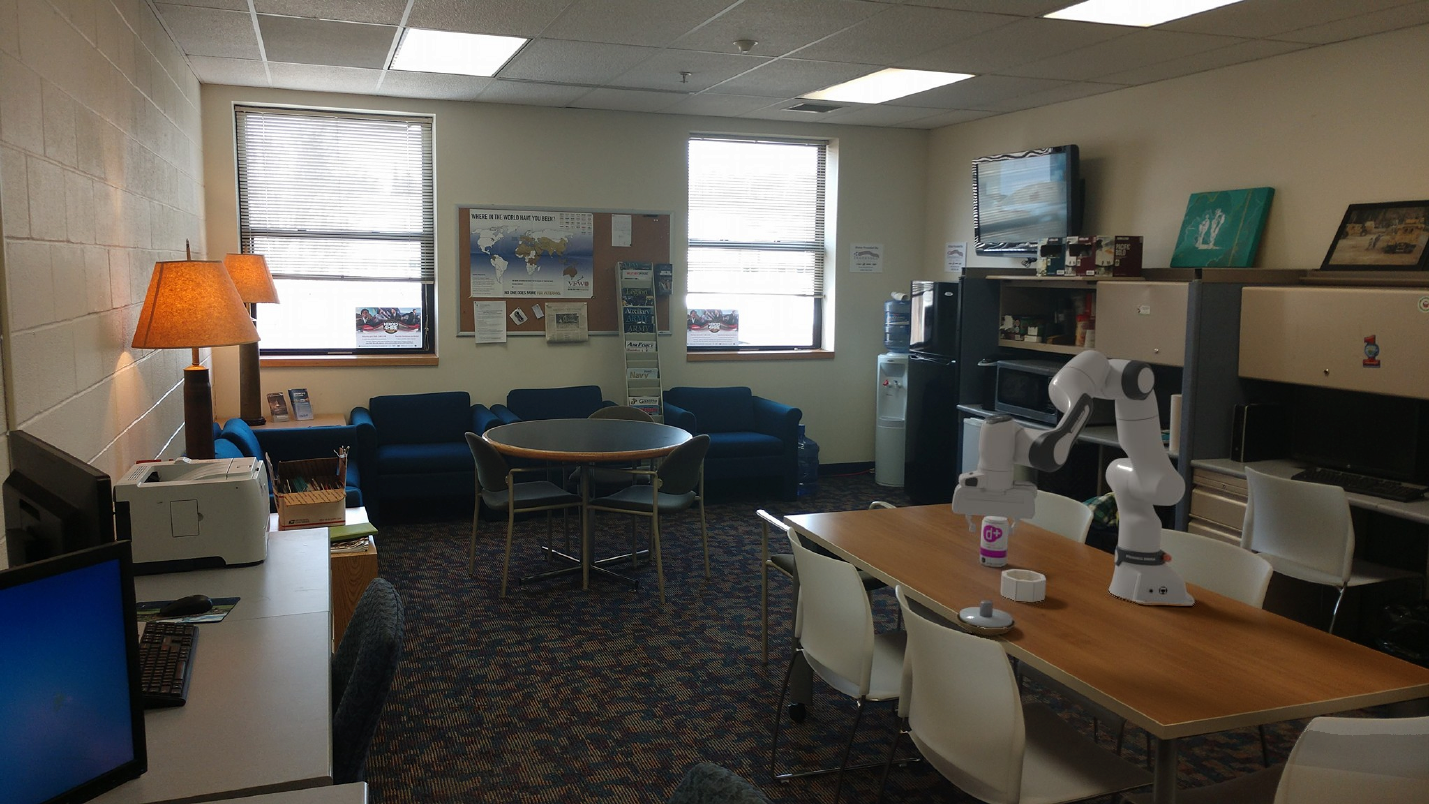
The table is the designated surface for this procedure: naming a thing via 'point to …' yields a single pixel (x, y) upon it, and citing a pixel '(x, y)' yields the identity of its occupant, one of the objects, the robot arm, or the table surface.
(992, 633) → the plant saucer
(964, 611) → the lid
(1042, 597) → the bowl
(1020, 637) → the table surface
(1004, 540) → the supplement can
